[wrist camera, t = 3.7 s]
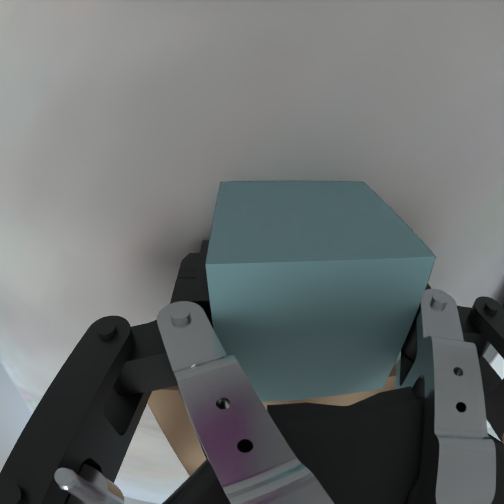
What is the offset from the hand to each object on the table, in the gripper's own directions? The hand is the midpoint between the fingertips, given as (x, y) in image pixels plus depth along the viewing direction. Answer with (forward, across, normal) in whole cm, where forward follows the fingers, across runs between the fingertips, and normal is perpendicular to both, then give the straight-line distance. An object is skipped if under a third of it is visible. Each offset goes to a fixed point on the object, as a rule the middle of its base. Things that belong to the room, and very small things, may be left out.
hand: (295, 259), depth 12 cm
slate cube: (+1, 0, 0) cm, 1 cm away
